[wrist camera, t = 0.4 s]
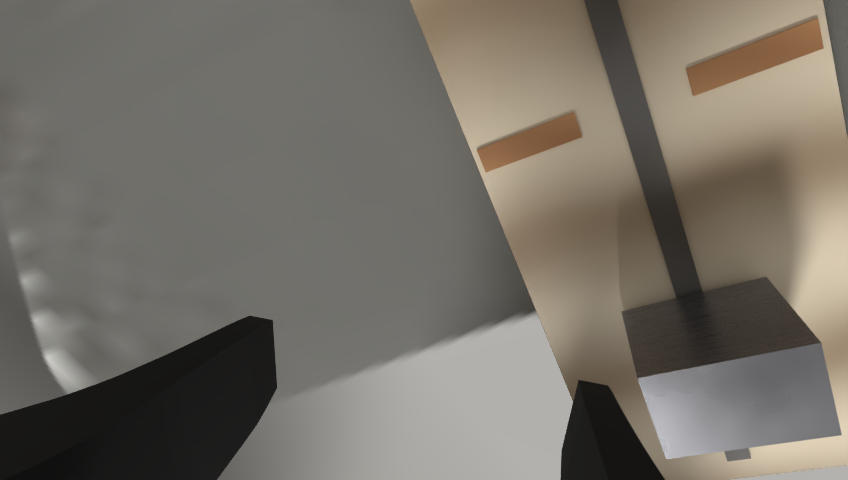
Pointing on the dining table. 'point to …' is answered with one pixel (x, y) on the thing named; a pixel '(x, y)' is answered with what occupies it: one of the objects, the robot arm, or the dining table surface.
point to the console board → (659, 175)
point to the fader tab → (730, 371)
